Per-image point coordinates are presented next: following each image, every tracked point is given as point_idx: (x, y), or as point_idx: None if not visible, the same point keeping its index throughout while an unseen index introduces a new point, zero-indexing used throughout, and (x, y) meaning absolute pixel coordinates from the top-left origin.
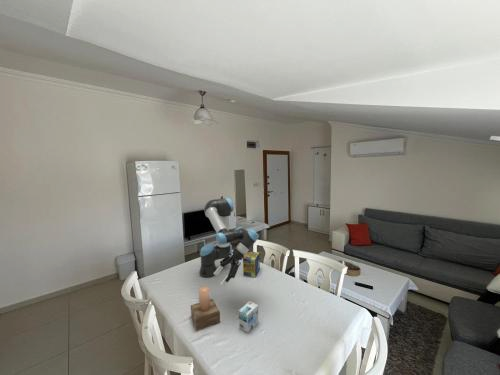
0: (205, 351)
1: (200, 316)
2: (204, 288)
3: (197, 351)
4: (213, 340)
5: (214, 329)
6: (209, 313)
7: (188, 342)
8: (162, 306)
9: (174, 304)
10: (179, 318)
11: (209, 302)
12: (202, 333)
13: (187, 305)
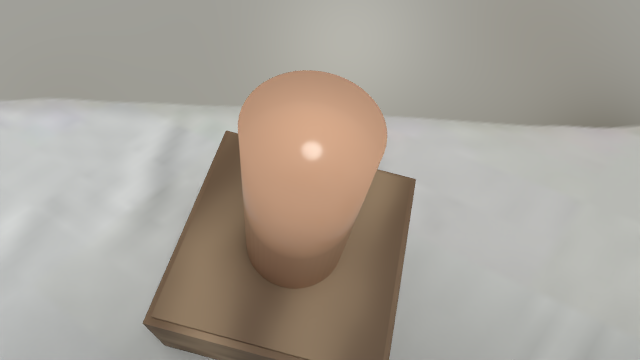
0: (49, 139)
1: (225, 163)
2: (321, 137)
3: (91, 113)
4: (69, 210)
5: (141, 267)
6: (196, 231)
7: (188, 110)
8: (592, 132)
9: (579, 190)
10: (413, 155)
11: (255, 246)
12: (181, 192)
13: (522, 250)
